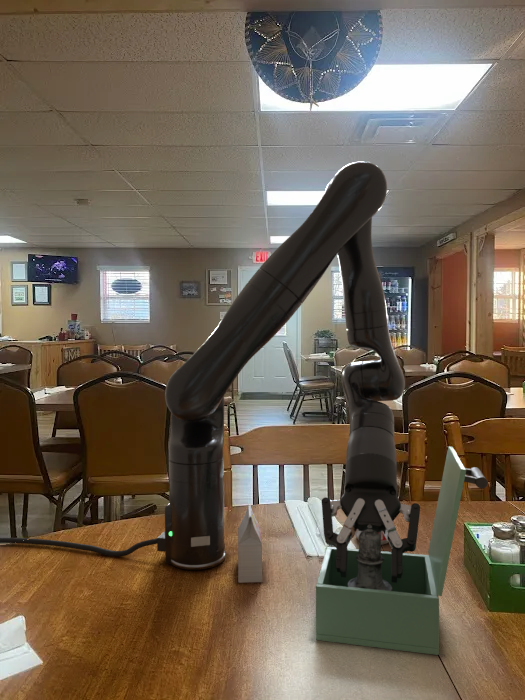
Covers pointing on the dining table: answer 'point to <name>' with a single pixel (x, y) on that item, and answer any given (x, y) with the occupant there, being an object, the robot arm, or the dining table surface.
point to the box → (379, 606)
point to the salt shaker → (369, 562)
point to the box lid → (449, 513)
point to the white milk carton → (249, 549)
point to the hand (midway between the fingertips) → (368, 577)
